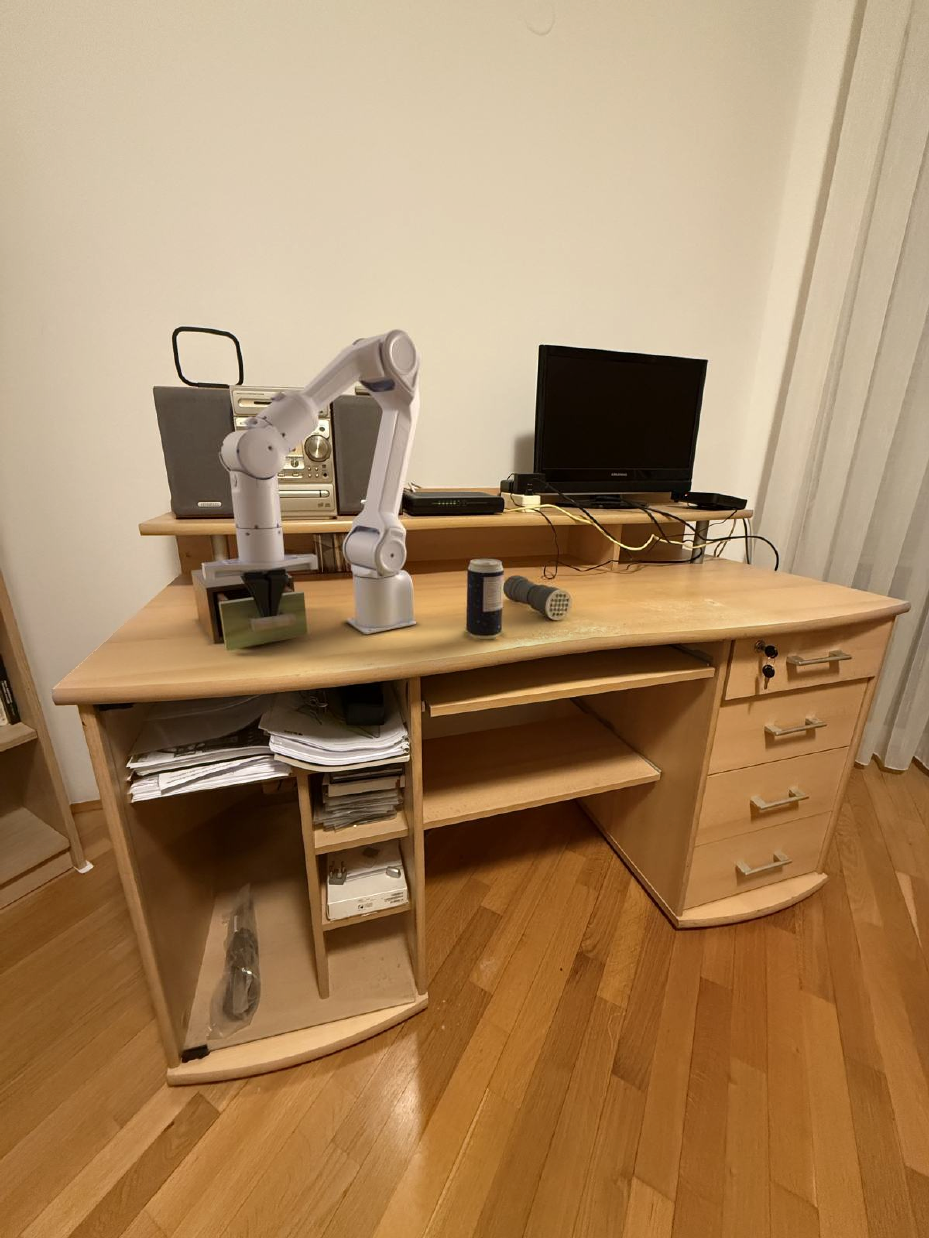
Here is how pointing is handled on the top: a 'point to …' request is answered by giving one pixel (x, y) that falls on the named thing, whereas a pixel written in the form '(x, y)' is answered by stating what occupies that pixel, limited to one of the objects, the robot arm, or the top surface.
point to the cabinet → (206, 600)
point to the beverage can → (484, 598)
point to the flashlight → (538, 597)
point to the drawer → (258, 618)
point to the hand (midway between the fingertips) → (268, 623)
